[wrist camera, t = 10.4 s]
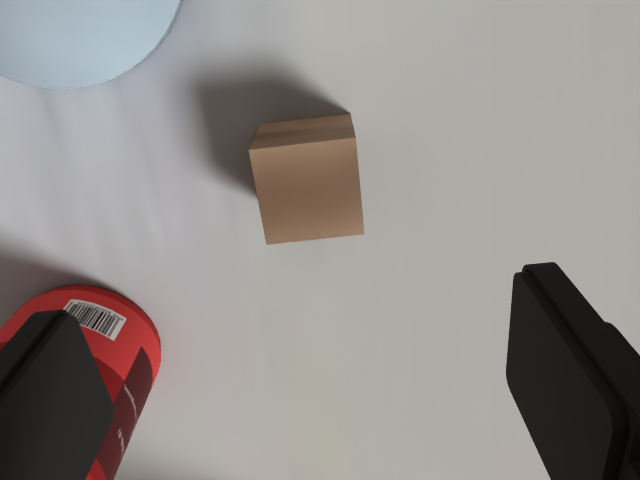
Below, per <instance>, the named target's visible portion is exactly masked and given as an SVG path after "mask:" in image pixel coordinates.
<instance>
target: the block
mask: <svg viewBox="0 0 640 480" xmlns="http://www.w3.org/2000/svg"><path fill="white" fill-rule="evenodd" d="M249 155H250V161H251V166H252V171H253V176H254V182H255V187H256V192H257V197H258V202H259V208H260V213H261V218H262V223H263V228H264V234H265V239H266V244H277V243H286V242H296V241H305V240H314V239H324V238H333V237H343V236H352V235H362V234H364V226H363V214H362V203H361V192H360V181H359V169H358V158H357V147H356V137H355V132H354V128H353V123H352V119H351V114H350V113H346V114H338V115H329V116H321V117H313V118H304V119H296V120H288V121H279V122H271V123H263V124H260V125H259V128H258V130H257V132H256V134H255V137H254V139H253V141H252V143H251V146H250V148H249Z"/></svg>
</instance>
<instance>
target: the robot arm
mask: <svg viewBox="0 0 640 480" xmlns="http://www.w3.org/2000/svg"><path fill="white" fill-rule="evenodd" d="M506 378H507V383H508V386H509V389H510V391H511V393H512V396H513V398H514V400H515V402H516V404H517V407H518V409H519V411H520V413H521V415H522V417H523V420H524V422H525V424H526V426H527V428H528V431H529V433H530V435H531V437H532V439H533V442H534V444H535V446H536V448H537V450H538V452H539V455H540V457H541V459H542V461H543V463H544V466H545V468H546V470H547V472H548V474H549V476H550V479H551V480H640V356H639V354H638V353H637V352H636V351H635V350H634V348H633V347H632V346H631V345H630V344H629V343H628V341H627V340H626V339H625V338H624V337H623V335H622V334H621V333H620V332H619V331H618V329H617V328H615V327H614V326H613V325H612V324H610V323H608V322H604V321H603V320H602V318H601V317H600V316H599V315H598V313H597V312H596V311H595V310H594V309H593V307H592V306H591V305H590V304H589V302H588V301H587V300H586V299H585V298H584V296H583V295H582V294H581V293H580V292H579V290H578V289H577V288H576V287H575V285H574V284H573V283H572V282H571V281H570V279H569V278H568V277H567V276H566V275H565V273H564V272H563V271H562V270H561V268H560V267H559V266H558V265H557V264H556V263H554V262H549V263H539V264H529V265H525V266H524V267H523V269H522V272H518V273H515V275H514V279H513V290H512V303H511V315H510V328H509V340H508V353H507V365H506ZM113 419H114V405H113V402H112V399H111V397H110V395H109V392H108V390H107V388H106V385H105V383H104V381H103V378H102V376H101V374H100V371H99V369H98V367H97V364H96V362H95V359H94V357H93V355H92V352H91V350H90V348H89V345H88V343H87V341H86V338H85V336H84V334H83V331H82V329H81V327H80V324H79V322H78V320H77V318H76V317H75V316H73V315H69V313H68V312H67V311H66V310H63V309H58V310H48V311H38V312H34V313H33V314H32V315H31V316H30V317H29V318H28V319H27V320H26V322H25V323H24V324H23V325H22V326H21V327H20V329H19V330H18V331H17V332H16V333H15V334H14V336H13V337H12V338H11V339H10V340H9V341H8V343H7V344H6V345H5V346H4V347H3V348H2V349H1V351H0V480H85V479H86V477H87V475H88V473H89V471H90V469H91V467H92V465H93V462H94V460H95V458H96V456H97V454H98V452H99V450H100V448H101V445H102V443H103V441H104V439H105V437H106V435H107V433H108V430H109V428H110V426H111V424H112V422H113Z"/></svg>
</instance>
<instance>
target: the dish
mask: <svg viewBox="0 0 640 480" xmlns="http://www.w3.org/2000/svg"><path fill="white" fill-rule="evenodd" d="M182 2H183V0H0V75H1V76H3V77H5V78H8V79H11V80H14V81H17V82H20V83H23V84H27V85H31V86H36V87H41V88H51V89H76V88H82V87H88V86H93V85H96V84H99V83H102V82H105V81H108V80H110V79H113V78H115V77H117V76H119V75H122V74H123V73H125V72H127V71H129V70H131V69H133V68H135V67H136V66H137V65H139V64H140V63H141V62H143V61H144V60H145V59H147V58H148V57H149V56H150V55H151V54H152V53H153V52H154V51H155V50H156V49H157V48H158V47H159V46H160V44H161V43H162V42H163V40H164V39H165V37H166V36H167V35H168V33H169V32H170V30H171V28H172V26H173V24H174V22H175V20H176V18H177V16H178V14H179V11H180V8H181V5H182Z"/></svg>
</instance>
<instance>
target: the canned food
mask: <svg viewBox="0 0 640 480" xmlns="http://www.w3.org/2000/svg"><path fill="white" fill-rule="evenodd" d="M58 309H63V310H66V311H67V312H68V313H69V315H73V316H75V317H76V318H77V320H78V322H79V324H80V327H81V329H82V331H83V334H84V336H85V338H86V341H87V343H88V345H89V348H90V350H91V352H92V355H93V357H94V359H95V362H96V364H97V367H98V369H99V371H100V374H101V376H102V378H103V381H104V383H105V385H106V388H107V390H108V392H109V395H110V397H111V399H112V402H113V405H114V419H113V422H112V424H111V426H110V428H109V430H108V433H107V435H106V437H105V439H104V441H103V443H102V445H101V448H100V450H99V452H98V454H97V456H96V458H95V460H94V462H93V465H92V467H91V469H90V471H89V473H88V475H87V477H86V479H85V480H113V479H114V477H115V475H116V472H117V470H118V467H119V465H120V463H121V460H122V458H123V455H124V453H125V450H126V448H127V446H128V443H129V441H130V438H131V436H132V434H133V431H134V429H135V426H136V424H137V422H138V419H139V417H140V414H141V412H142V410H143V407H144V405H145V402H146V400H147V397H148V395H149V393H150V390H151V388H152V385H153V383H154V381H155V378H156V376H157V373H158V371H159V367H160V362H161V346H160V338H159V335H158V331H157V329H156V327H155V326H154V324H153V322H152V320H151V319H150V318H149V317H148V316H147V315H146V313H145V312H144V311H143V310H142V309H140V308H139V307H138V306H137V305H136V304H134V303H133V302H132V301H130V300H128V299H126V298H125V297H123V296H121V295H119V294H117V293H114V292H112V291H109V290H106V289H102V288H98V287H94V286H84V285H71V286H63V287H59V288H55V289H51V290H49V291H47V292H45V293H43V294H41V295H39V296H37V297H35V298H33V299H31V300H29V301H28V302H26V303H25V304H24V305H23V306H22V307H20V308H19V309H18V310H17V312H16V313H15V314H14V315H13V316H12V317H11V318H10V319H9V320H8V321H7V322H6V323H5V324H4V325H3V326H2V327H1V328H0V351H1V349H2V348H3V347H4V346H5V345H6V344H7V343H8V341H9V340H10V339H11V338H12V337H13V336H14V334H15V333H16V332H17V331H18V330H19V329H20V327H21V326H22V325H23V324H24V323H25V322H26V320H27V319H28V318H29V317H30V316H31V315H32V314H33V313H34V312H38V311H48V310H58Z"/></svg>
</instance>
